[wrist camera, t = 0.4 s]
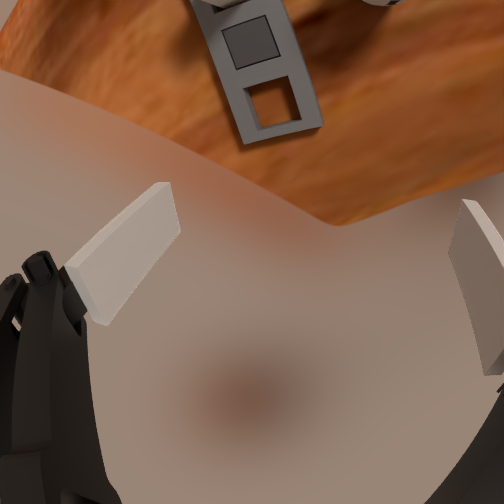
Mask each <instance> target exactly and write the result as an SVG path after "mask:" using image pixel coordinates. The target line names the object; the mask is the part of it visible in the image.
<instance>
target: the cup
mask: <svg viewBox="0 0 504 504" xmlns="http://www.w3.org/2000/svg"><path fill="white" fill-rule="evenodd" d="M362 1H364V2H366V3H369V4H372V5H375V6H390V5H395V4H399V3H402V2H405V1H406V0H362Z"/></svg>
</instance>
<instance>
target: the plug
mask: <svg viewBox="0 0 504 504" xmlns="http://www.w3.org/2000/svg"><path fill="white" fill-rule="evenodd" d="M201 1H204V2H207V3H210V4H213V5H216V6H218V7H221V8H224V9H225V8H228V7H230V6H233V5H236V4H238V3H241V2H244V1H247V0H201Z"/></svg>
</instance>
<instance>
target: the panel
mask: <svg viewBox="0 0 504 504" xmlns="http://www.w3.org/2000/svg"><path fill="white" fill-rule="evenodd" d="M190 2H191V4H192V7H193V10H194V12H195V15H196V17H197V20H198V22H199V25H200V27H201V30H202V32H203V35H204V38H205V40H206V43H207V45H208V48H209V51H210V53H211V56H212V59H213V61H214V64H215V66H216V69H217V72H218V74H219V77H220V80H221V83H222V85H223V88H224V91H225V93H226V96H227V99H228V102H229V104H230V107H231V110H232V113H233V115H234V118H235V121H236V124H237V126H238V129H239V132H240V135H241V138H242V140H243V143H244V144H248V143H252V142H256V141H259V140H263V139H267V138H271V137H276V136H280V135H284V134H288V133H293V132H297V131H302V130H306V129H311V128H316V127H321V126H323V125H324V121H323V117H322V114H321V110H320V107H319V103H318V100H317V97H316V93H315V90H314V87H313V84H312V80H311V77H310V74H309V71H308V68H307V65H306V62H305V59H304V56H303V53H302V51H301V48H300V45H299V42H298V39H297V37H296V34H295V31H294V28H293V26H292V23H291V21H290V18H289V15H288V13H287V10H286V8H285V5H284V3H283V1H282V0H250V1H247V2H245V3H242V4H239V5H236V6H234V7H231V8H228V9H226V10H223V11H221V12H219V11H218V9H217V6H216V5H213V4H210V3H207V2H204V1H201V0H190ZM280 56H281V57H280ZM276 57H278V58H276ZM273 58H274V59H273ZM270 59H271V60H270ZM266 60H267V61H266ZM263 61H264V62H263ZM260 62H261V63H260ZM256 63H257V64H256ZM253 64H254V65H253ZM250 65H251V66H250ZM247 66H248V67H247ZM244 67H245V68H244ZM241 68H242V69H241ZM284 76H288V77H289V80H290V83H291V86H292V89H293V93H294V96H295V99H296V102H297V105H298V108H299V112H300V115H301V118H299V119H295V120H291V121H287V122H282V123H278V124H274V125H270V126H266V127H263V128H261V125H260V122H259V119H258V116H257V113H256V111H255V108H254V105H253V102H252V99H251V96H250V93H249V91H248V88H247V87H250V86H253V85H256V84H260V83H263V82H266V81H270V80H273V79H277V78H281V77H284Z"/></svg>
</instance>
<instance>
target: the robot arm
mask: <svg viewBox="0 0 504 504" xmlns="http://www.w3.org/2000/svg"><path fill="white" fill-rule="evenodd" d="M180 232H181V229H180V226H179V221H178V217H177V212H176V208H175V204H174V199H173V195H172V190H171V186H170V182H160V183H159V182H156V183H155V184H154V185H153V186H151V187H150V188H149V189H148V190H147V191H145V192H144V193H143V194H142V195H141V196H139V197H138V198H137V199H136V200H134V201H133V202H132V203H131V204H130V205H129V206H127V207H126V208H125V209H124V210H123V211H122V212H120V213H119V214H118V215H117V216H116V217H115V218H114V219H112V220H111V221H110V222H109V223H108V224H107V225H106V226H105V227H103V228H102V229H101V230H100V231H99V232H98V233H97V234H96V235H95V236H94V237H92V238H91V239H90V240H89V241H88V242H87V243H86V244H85V245H84V246H83V247H82V248H81V249H80V250H79V251H78V252H77V253H76V254H75V255H74V256H73V257H72V258H71V259H70V260H69V261H68V262H67V263H66V264H65V265H64V266H63V267H62V268H61V269H60V270H59V271H58V269H57V267H56V265H55V263H54V261H53V259H52V257H51V255H50V253H49V252H48V251H40V252H37V253H35V254H33V255H32V256H30V257H29V258H28V259H27V260H26V261H25V262H24V263H23V265H22V269H23V271H24V273H25V275H26V277H27V278H28V280H29V282H30V283H26V282H25V280H24V279H23V277H22V275H21V274H19V273H18V274H13V275H10V276H9V277H7V278H6V279H5V280H4V281H3V282H2V284H1V285H0V504H122V503H121V500H120V497H119V496H118V494H117V492H116V490H115V489H114V488H113V487H112V485H111V484H110V483H109V481H108V478H107V476H106V472H105V467H104V463H103V459H102V454H101V449H100V444H99V439H98V433H97V428H96V422H95V415H94V408H93V401H92V393H91V385H90V374H89V362H88V348H87V325H86V321H85V319H84V317H83V316H84V314H85V313H86V312H87V311H88V313H89V314H90V316H91V318H92V320H93V321H94V322H96V323H99V324H102V325H106V326H108V325H109V324H110V322H111V320H112V319H113V318H114V317H115V315H116V314H117V313H118V311H119V310H120V309H121V307H122V306H123V305H124V303H125V302H126V301H127V299H128V298H129V296H130V295H131V294H132V292H133V291H134V290H135V289H136V287H137V286H138V285H139V283H140V282H141V281H142V280H143V278H144V277H145V276H146V274H147V273H148V272H149V270H150V269H151V268H152V267H153V266H154V264H155V263H156V262H157V261H158V259H159V258H160V257H161V255H162V254H163V253H164V252H165V251H166V249H167V248H168V247H169V246H170V244H171V243H172V242H173V240H175V238H176V237H177V236H178V234H179V233H180ZM448 254H449V257H450V259H451V262H452V264H453V267H454V270H455V273H456V276H457V278H458V281H459V284H460V287H461V290H462V293H463V296H464V299H465V302H466V306H467V309H468V312H469V316H470V319H471V323H472V326H473V330H474V334H475V338H476V341H477V346H478V350H479V354H480V359H481V363H482V368H483V373H484V376H485V375H501V374H502V373H503V372H504V241H503V239H502V237H501V236H500V234H499V233H498V231H497V230H496V228H495V227H494V225H493V224H492V222H491V221H490V219H489V218H488V216H487V215H486V214H485V212H484V211H483V209H482V208H481V207H480V206H479V204H478V203H477V202H476V201H472V200H465V199H462V202H461V206H460V210H459V215H458V218H457V222H456V226H455V230H454V234H453V238H452V241H451V245H450V248H449V251H448ZM13 317H15V319H16V320H17V321H18V323H19V324H20V326H21V330H20V331H18V330H17V329H16V328H15V326H14V325H13V324H12V319H13ZM501 390H502V391H501ZM500 391H501V393H500V395H499V397H498V399H497V401H496V403H495V404H494V406H493V408H492V410H491V412H490V413H489V415H488V417H487V419H486V420H485V422H484V424H483V425H482V427H481V429H480V430H479V432H478V433H477V435H476V437H475V438H474V440H473V441H472V443H471V444H470V446H469V447H468V449H467V450H466V452H465V453H464V454H463V456H462V457H461V459H460V460H459V462H458V463H457V464H456V466H455V467H454V468H453V470H452V471H451V472H450V473H449V475H448V476H447V477H446V479H445V480H444V481H443V483H442V484H441V485H440V486H439V487H438V489H437V490H436V491H435V492H434V493H433V494H432V496H431V497H430V498H429V499H428V500H427V501H426V502H425V504H504V383H503V385H502V386H501V387H500V388H499V389H498V390H497V392H498V393H499V392H500Z"/></svg>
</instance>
